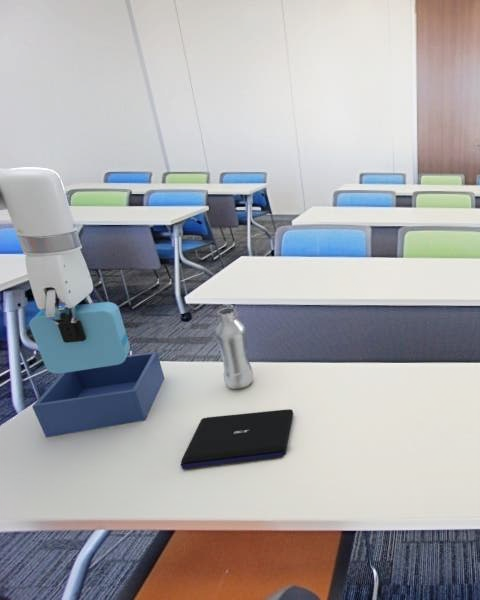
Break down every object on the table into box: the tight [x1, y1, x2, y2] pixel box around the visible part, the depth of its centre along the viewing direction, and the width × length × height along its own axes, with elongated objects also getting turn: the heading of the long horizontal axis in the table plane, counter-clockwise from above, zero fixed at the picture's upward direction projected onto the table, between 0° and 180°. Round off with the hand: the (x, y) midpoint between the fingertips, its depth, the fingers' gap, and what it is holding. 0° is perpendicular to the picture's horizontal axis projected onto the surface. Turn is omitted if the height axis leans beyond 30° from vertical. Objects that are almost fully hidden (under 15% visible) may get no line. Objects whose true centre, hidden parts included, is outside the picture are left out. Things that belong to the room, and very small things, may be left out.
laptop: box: [180, 408, 294, 470], centre depth 81 cm, size 16×20×2 cm
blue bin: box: [32, 351, 165, 438], centre depth 88 cm, size 17×17×8 cm
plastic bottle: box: [214, 307, 254, 390], centre depth 95 cm, size 6×7×20 cm
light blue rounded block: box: [28, 301, 131, 375], centre depth 77 cm, size 12×4×12 cm, turn 116°
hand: (82, 333), depth 76 cm, fingers closed on light blue rounded block, 4 cm apart
